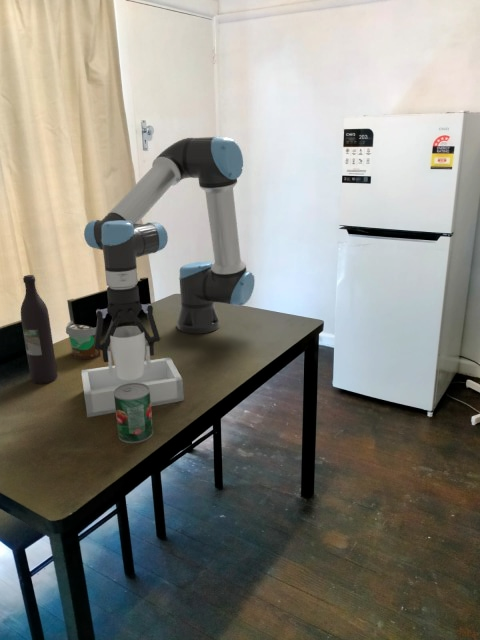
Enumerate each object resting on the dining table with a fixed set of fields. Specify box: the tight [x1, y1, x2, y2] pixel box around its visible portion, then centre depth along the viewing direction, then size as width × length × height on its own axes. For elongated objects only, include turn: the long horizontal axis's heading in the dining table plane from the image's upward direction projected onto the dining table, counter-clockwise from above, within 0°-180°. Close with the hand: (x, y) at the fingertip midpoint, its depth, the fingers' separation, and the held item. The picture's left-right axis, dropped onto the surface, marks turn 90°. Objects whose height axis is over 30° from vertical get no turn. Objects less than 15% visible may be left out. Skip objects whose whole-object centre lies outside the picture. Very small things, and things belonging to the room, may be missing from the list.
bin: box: [80, 357, 185, 418], centre depth 133 cm, size 24×15×6 cm, turn 109°
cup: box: [109, 325, 147, 380], centre depth 130 cm, size 9×9×12 cm
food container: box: [65, 320, 102, 360], centre depth 158 cm, size 12×6×10 cm, turn 62°
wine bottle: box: [20, 274, 58, 385], centre depth 139 cm, size 7×7×30 cm
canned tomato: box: [114, 383, 154, 444], centre depth 115 cm, size 8×8×11 cm
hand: (130, 369), depth 132 cm, fingers closed on cup, 9 cm apart
